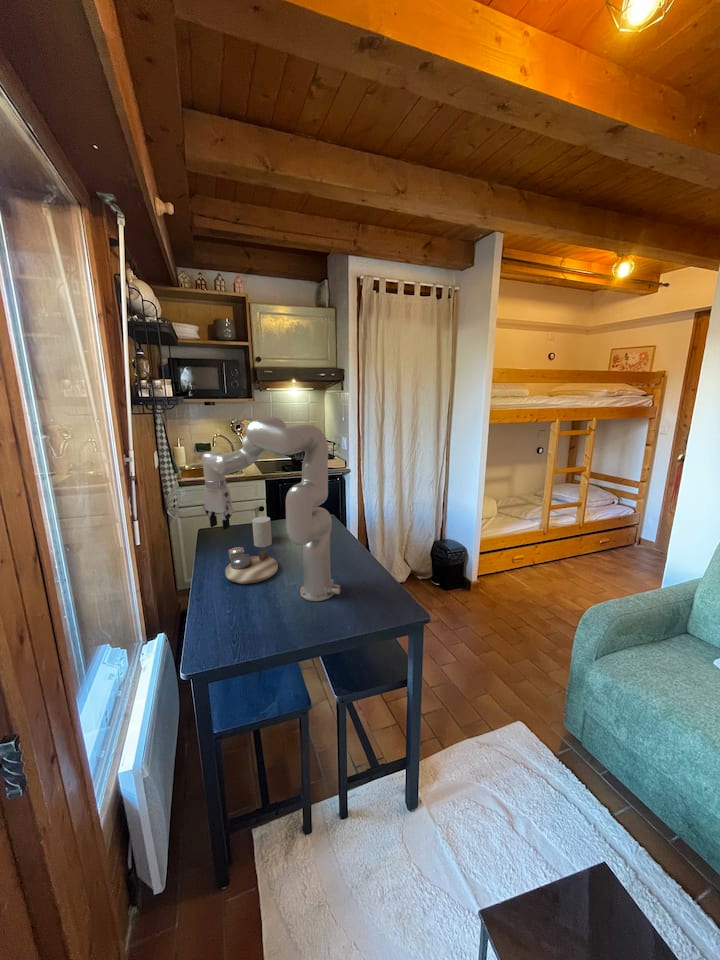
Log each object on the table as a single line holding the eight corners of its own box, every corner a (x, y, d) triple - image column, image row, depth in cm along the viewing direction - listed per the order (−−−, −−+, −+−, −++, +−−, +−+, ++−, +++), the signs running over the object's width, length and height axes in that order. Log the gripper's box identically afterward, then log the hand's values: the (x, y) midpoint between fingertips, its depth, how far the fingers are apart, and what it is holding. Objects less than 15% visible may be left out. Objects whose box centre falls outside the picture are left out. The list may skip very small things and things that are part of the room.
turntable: (287, 563, 156) (286, 553, 154) (257, 587, 138) (256, 576, 137) (247, 555, 163) (246, 546, 162) (214, 577, 145) (213, 566, 144)
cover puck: (256, 562, 154) (255, 555, 153) (243, 571, 147) (242, 564, 146) (240, 559, 157) (239, 552, 156) (226, 567, 150) (226, 560, 149)
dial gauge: (243, 553, 167) (242, 545, 166) (244, 558, 163) (244, 550, 162) (229, 555, 165) (228, 547, 164) (230, 560, 161) (229, 552, 160)
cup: (250, 545, 176) (248, 520, 173) (262, 538, 183) (260, 515, 180) (263, 548, 172) (261, 523, 169) (275, 542, 179) (273, 518, 176)
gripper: (239, 483, 147) (243, 526, 151) (205, 479, 153) (210, 521, 158) (226, 488, 140) (231, 533, 145) (191, 483, 146) (196, 527, 151)
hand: (220, 526), depth 151 cm, fingers open, 5 cm apart
